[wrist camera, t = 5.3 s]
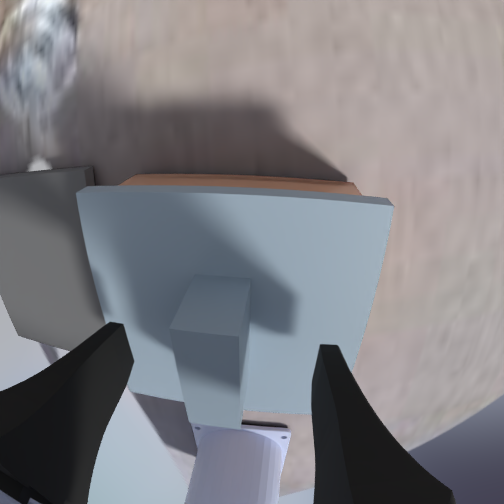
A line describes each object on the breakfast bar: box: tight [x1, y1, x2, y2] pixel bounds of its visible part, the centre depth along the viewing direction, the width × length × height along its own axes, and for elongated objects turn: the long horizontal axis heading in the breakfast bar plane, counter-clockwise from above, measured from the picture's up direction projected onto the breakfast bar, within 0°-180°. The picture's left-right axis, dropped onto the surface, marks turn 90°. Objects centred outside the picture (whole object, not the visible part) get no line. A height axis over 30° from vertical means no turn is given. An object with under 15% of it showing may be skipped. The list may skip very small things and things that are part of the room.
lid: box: [76, 185, 394, 429], centre depth 12 cm, size 11×11×4 cm
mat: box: [0, 166, 106, 351], centre depth 17 cm, size 13×11×1 cm
